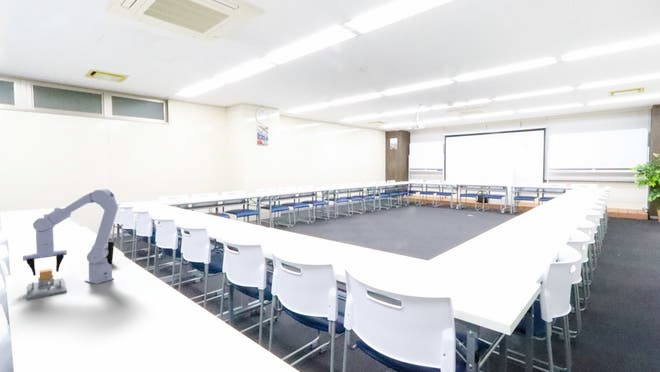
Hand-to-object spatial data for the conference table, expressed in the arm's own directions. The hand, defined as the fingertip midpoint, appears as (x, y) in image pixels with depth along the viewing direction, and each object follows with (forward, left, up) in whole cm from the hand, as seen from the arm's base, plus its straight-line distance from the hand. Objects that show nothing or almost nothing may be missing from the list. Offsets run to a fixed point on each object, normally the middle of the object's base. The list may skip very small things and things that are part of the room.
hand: (46, 273), depth 139 cm
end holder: (0, 0, -5) cm, 5 cm away
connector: (0, 0, -5) cm, 5 cm away
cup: (+10, -32, -6) cm, 34 cm away
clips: (-6, +3, -6) cm, 9 cm away
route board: (-6, +3, -6) cm, 9 cm away
